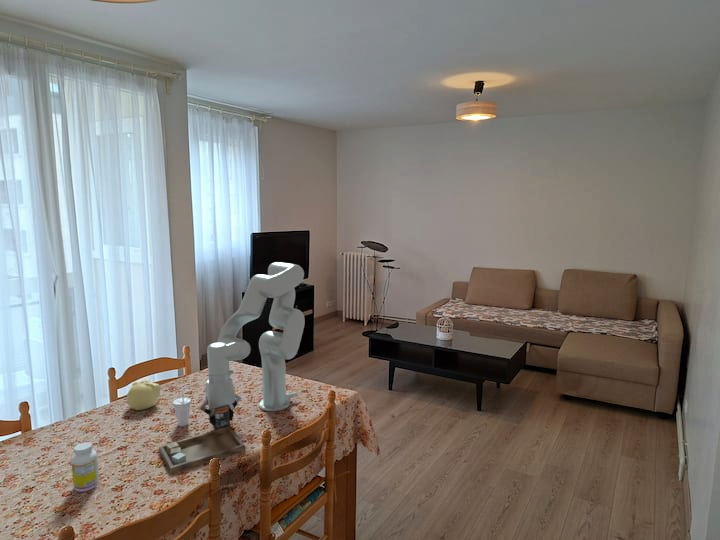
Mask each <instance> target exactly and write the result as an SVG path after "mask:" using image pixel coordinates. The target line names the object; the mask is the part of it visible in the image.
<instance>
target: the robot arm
mask: <svg viewBox="0 0 720 540" xmlns="http://www.w3.org/2000/svg"><path fill="white" fill-rule="evenodd" d="M304 277H305V271H304V269H303V267H301V266H300V265H299V264H295V263H289V262H283V261H282V262H281V261H279V262H278V261H275V262H272V263H270V264H269V266H268V268H267V274H262V273H261V274H259V273H258V274H255V275H253V276H252V277H251V278H250V279H249V283H248V284H247V288H246V290H245V293H244V296H243V298H242V301H241V303H240V305H239V308H238V309H237V310H236V311H235V312H234V313H233V314H232V315H231V316H230V317H229V318H228V319H227V320H226V321H225V322H224V324H223V326H222V327H221V330H220V332H219V335H218V337H217V341H216V342H213V343H212V342H211V343H210V344H208V345H207V348H206V352H207V353H206V356H207V370H208V379H207V380H206V382H205V392H204V394H205V395H204V400H203V402H202V403H201V405H200V406H199V407H198V408H199V410H200V411H202V412H204V413H205V414H207V415H208V422H209V424H211V426H212V427H214V426H215V416H214V411H215V408H218V407H221V406H225V405H229V414H230V422H233V420H234V419H233V418H234V417H235V415H234V410H235V408H236V407H237V405H238V403H240V401H241V400H242V397H241V396H240V395H239V394H237V393H235V387H234V382H233V378H232V377H231V375H233V374H234V370H232V369H230V362H234V361H240V360H241V361H242V360H244V359H245V358H247V357H249V355H250V354H251V350H252V348H251V344H250V343H249V342H248V341H246V340H245V339H241V338H238V337H237V335H238V333H239V331H240V329H241V328H242V327H243V326H244V325H246V324H247V323H249V322H252V321H254V320H256V319H258V318H260V316H261V315H262V312H263V309H264V306H265V305H266V301H267V299H268V298H271V299H273V301H272V304H271V309H270V312H269V317H268V323H269V325H270V326H271V327H272V328H275V329H279V330H281V331H282V330H283V332H279V331H275V330H267V331H265V332H263V333H262V334H260V335H261V336H260V337H259V340H258V349H259V353H260V357H261V359H260V360H261V375H262V377H261V379H262V382H261V383H262V399H261V401H259V403H258V404H259V409H261V410H263V411H265V412H280V411H282V410H283V411H284V410H285V409H288V408H289V407H290V405H291V399H292V398H296V397H297V396H298V395H297V392H296V391H294V392H291V391H287V381H286V380H287V377H286V376H287V375H286V360H291V359H293V358H295V356H296V355H297V353H298V350H299V348H300V343H301V341H302V336H303V333H304V328H305V321H306V320H305V315H304V313H303V312H302V311H301V310H300V309H298V308H294V305H295V301H296V289H295V288H296V287H297V286H299V285H300V284H301V283H302V282H303V280H304ZM207 406H208V408H207Z"/></svg>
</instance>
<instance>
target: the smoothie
mask: <svg viewBox="0 0 720 540" xmlns="http://www.w3.org/2000/svg"><path fill="white" fill-rule="evenodd" d="M184 394H185V392H184V389H181V397H179V398H176V399H175V400H173V401H172V406H173V408H174V412H175V417H176V422H177V426H179V427H184V426H187V425H189V422H190V410H191V404H192V401H191V398H189V397H185V396H184Z"/></svg>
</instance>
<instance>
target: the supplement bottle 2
mask: <svg viewBox="0 0 720 540" xmlns="http://www.w3.org/2000/svg"><path fill="white" fill-rule="evenodd" d="M214 416H215V426H213V430H214V431H215V430H218V429H222V428H226V427H229V428H230V427H231V421H230V414H229V405H225V406H221V407H218V408H215V411H214Z"/></svg>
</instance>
